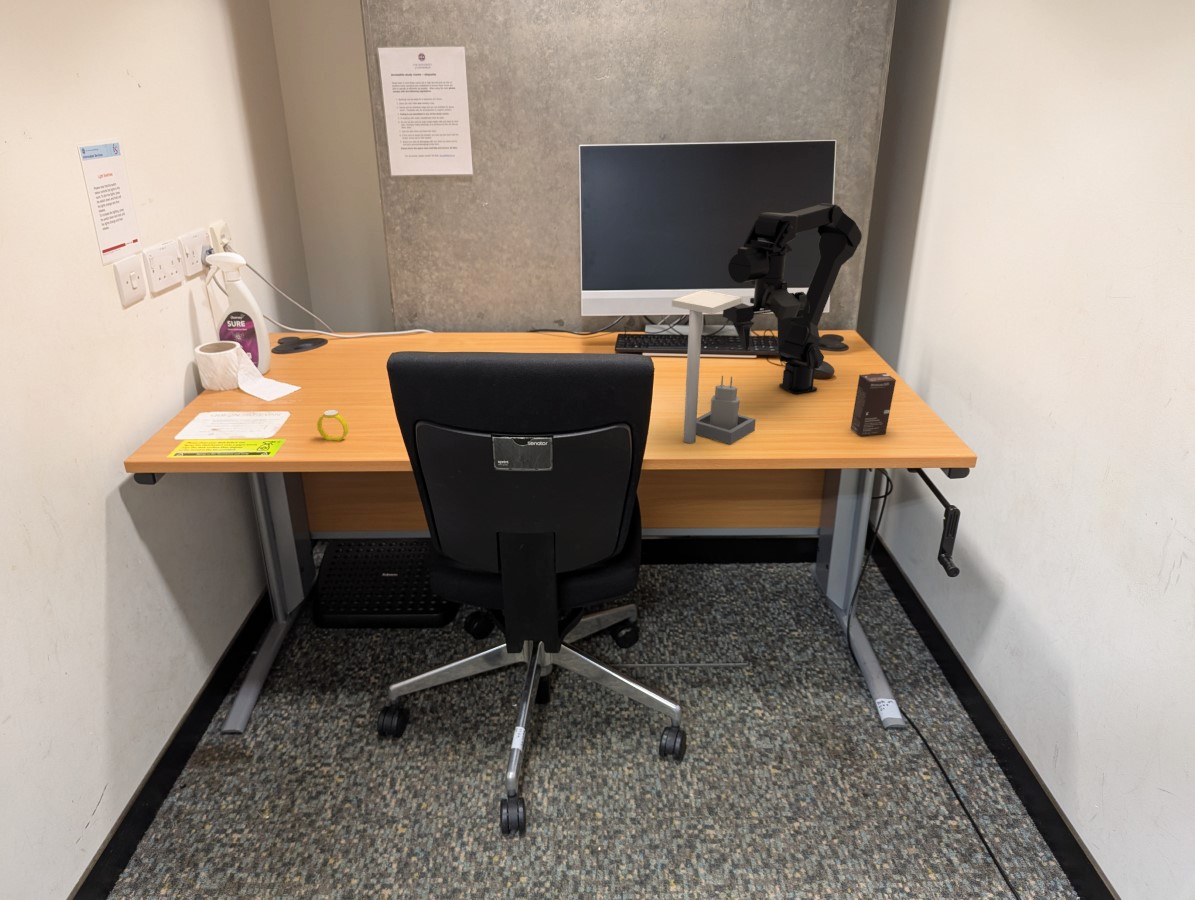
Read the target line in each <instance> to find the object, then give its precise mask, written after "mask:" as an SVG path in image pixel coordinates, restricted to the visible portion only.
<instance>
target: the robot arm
mask: <svg viewBox="0 0 1195 900" xmlns="http://www.w3.org/2000/svg"><path fill="white" fill-rule="evenodd" d="M814 229H815V233H816V234H817V236H818V237H819V240H818V244H817V246H818V252H819V261H818V263H817V266H816V269H815V271H814V274H813V276H812V278H811V281H810V283H809V287H807V288H808V289H807V292H806V293H805V292H804V291H797V292H789V290H788V286H789V284H788V282H787V281H784V278H785V277H784V275H785V265H786V254H788V253H791V252H793V248H792V247H791V246H790V245H789V244H788V243H789V242H792V241H793V240H795V239H796V237H797V235H798V234H799V233H802V232H807V231H809V230H814ZM862 235H863V234H862V232H861V230H860V228H859V226H858V225H857V223H856V221H855V220H854V219H852V218H851V217H850V216H848V215H847V214H846V213H845V212H844V211H843V209H842V208H841V206H840V205H838V204H833V203H825V202H821V203H818V204H816V205H814V206H809V207H806V208H803V209H799V210H798V209H797V210H795V211H791V212H788V213H786V212H785V213H784V212H762V213H760V214H759V215H758V216H757V219H756V220H755V222H754V224H753V225H752V227H751V229H750V231H749V233H748V235H747V237H746V239H745V241H744V243H743V246H742V247H738V248H737V254H734V255H733V256H732V257H731V258H730V261H729V263H728V266H727V267H728V274H729V277H730V278H731V279H732V280H733V281H734V282H736V283H738V284H742V283H746V282H751V284H752V285H754V294H753V295H754V296H753V297H750V298H749V303H750V304H753V305H748V304H746V303H743V302H742V303H741V304H739V305H736V306H733V307H731V308H728V309H725V310H723V311H722V317H723V318H725V319H727V321H729V322H731V323H732V325H733V326H734V328H735V331H736V333H737V335H738V338H739V341H740V344H741V346H742V348H743V350H744V351H745V352H747V351H748V350H749V346H750V336H751V328H752V326H754V324H755V322H754V321H752V320H753V319H754V317H755V315H762V314H769V313H770V314H771V313H773V314H774V316H775V317H776V319H777V349H778V350H777V351H778V358H779V361H780V362H783V363H785V366H784V369H783V373H782V374H783V375H782V382H781V383H779V384H778V387H780V388H782V389H784V390H786V391H788V392H789V393H792V394H794V395H799V394H804V393H811V392H815V391H818V387H816V386H814V380H815V372H816V370H818V369H820V367H821V366H823V362H824V359H825V356H824V354H823V353H822V351H821V349H820V348H819V347H818V346H819V343H820V340H821V339H820V332H819V326H818V325H819V323H820V320H821V318H822V315H823V314H824V310H825V308H826V305H827V303H828V300H829V297H830V295H831V292H832V290H833V288H834V285H835V283H836V280H837V278H838V275H839V272H840V270H841V268H842V265H844V264H845V263H846V262H847V261H849V260H850V259H851V258H853V257H854V255H855V252H856V250H857V249H858V247H859V245H860V244H861V242H862V237H863V236H862Z"/></svg>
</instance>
